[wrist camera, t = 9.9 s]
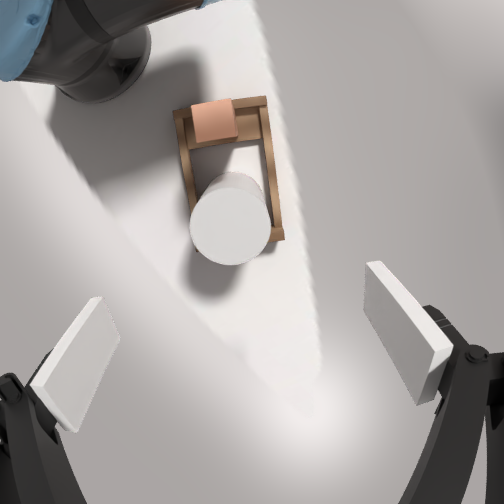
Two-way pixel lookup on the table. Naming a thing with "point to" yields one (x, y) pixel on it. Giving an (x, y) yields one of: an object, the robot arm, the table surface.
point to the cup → (231, 220)
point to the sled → (227, 140)
